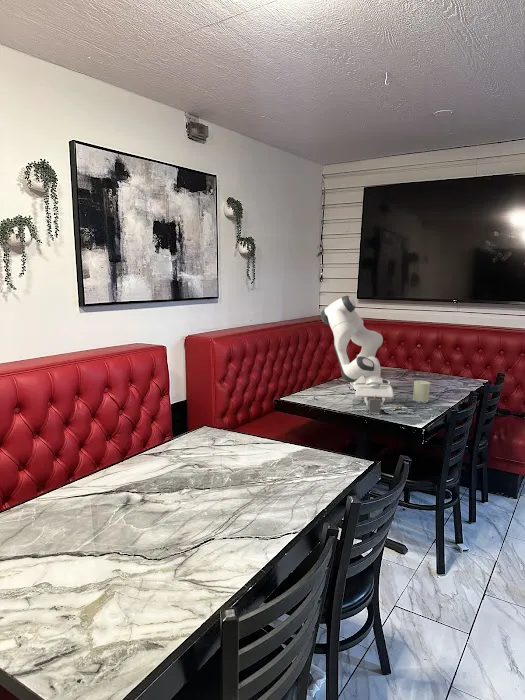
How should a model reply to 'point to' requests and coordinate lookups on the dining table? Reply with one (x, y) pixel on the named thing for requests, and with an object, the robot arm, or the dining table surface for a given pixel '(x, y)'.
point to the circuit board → (398, 409)
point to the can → (421, 390)
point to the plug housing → (374, 404)
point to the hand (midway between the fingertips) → (374, 405)
